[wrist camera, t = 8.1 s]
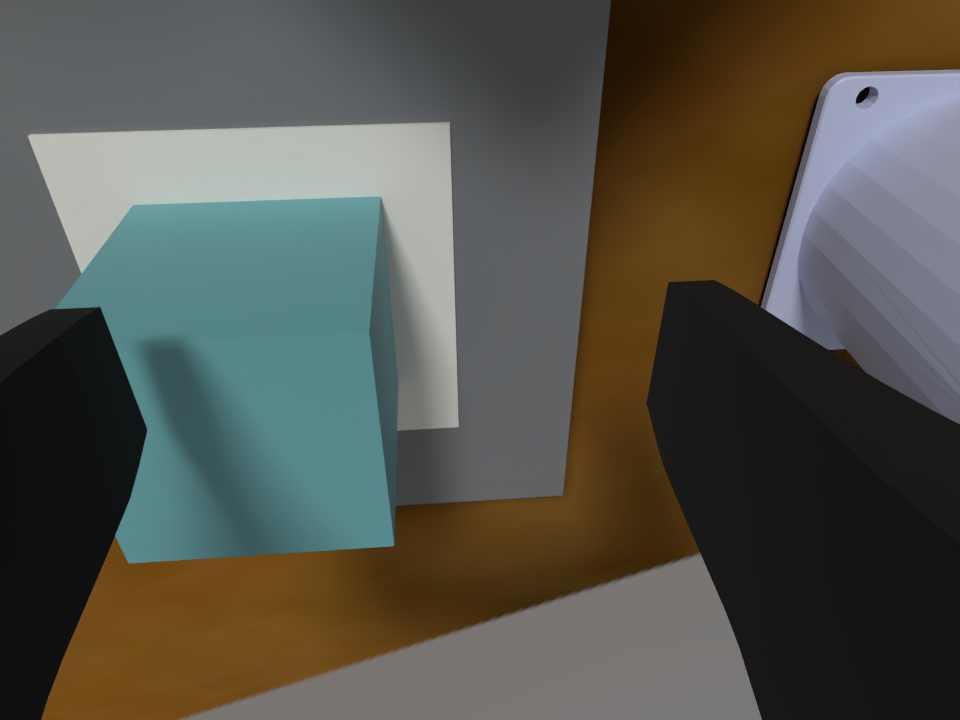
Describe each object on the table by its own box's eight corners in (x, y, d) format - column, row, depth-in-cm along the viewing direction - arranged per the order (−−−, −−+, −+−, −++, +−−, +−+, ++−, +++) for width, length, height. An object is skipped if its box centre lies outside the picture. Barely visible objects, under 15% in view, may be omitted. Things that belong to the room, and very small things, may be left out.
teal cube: (380, 196, 15) (369, 332, 11) (398, 384, 18) (394, 545, 14) (132, 204, 14) (25, 348, 10) (194, 395, 17) (128, 563, 13)
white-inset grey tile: (583, -74, 15) (617, -56, 12) (546, 426, 23) (563, 497, 21) (-122, -65, 14) (-238, -43, 11) (107, 451, 22) (68, 528, 20)
